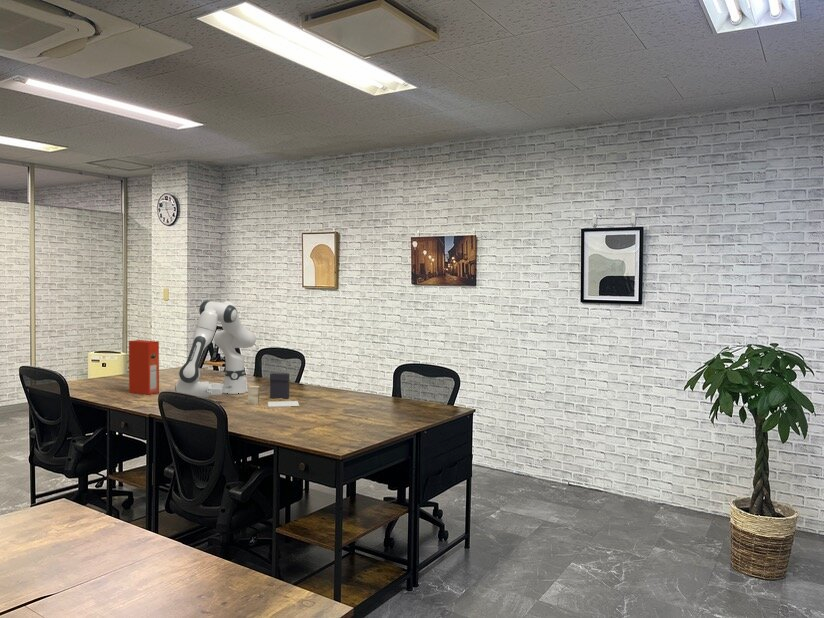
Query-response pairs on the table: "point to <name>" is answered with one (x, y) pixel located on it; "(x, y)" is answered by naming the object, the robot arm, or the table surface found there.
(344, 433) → the table surface
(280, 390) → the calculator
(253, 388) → the block
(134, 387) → the file binder
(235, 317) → the robot arm
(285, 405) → the mat
